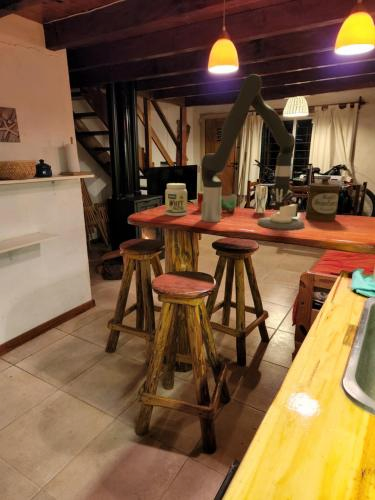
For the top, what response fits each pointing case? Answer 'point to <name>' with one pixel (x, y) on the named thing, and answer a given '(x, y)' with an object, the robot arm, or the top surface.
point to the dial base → (281, 224)
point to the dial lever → (285, 214)
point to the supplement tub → (176, 199)
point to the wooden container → (322, 201)
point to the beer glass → (260, 198)
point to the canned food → (200, 200)
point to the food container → (228, 203)
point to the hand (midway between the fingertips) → (279, 209)
